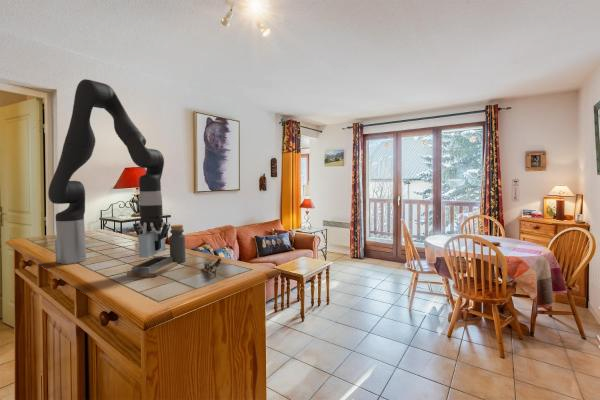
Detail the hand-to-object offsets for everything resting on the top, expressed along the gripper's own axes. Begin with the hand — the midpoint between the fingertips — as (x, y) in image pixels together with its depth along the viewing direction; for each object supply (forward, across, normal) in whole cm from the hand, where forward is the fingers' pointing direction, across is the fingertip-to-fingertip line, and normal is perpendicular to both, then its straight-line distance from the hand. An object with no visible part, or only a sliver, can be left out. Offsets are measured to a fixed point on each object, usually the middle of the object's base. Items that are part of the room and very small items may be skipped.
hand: (152, 250), depth 110 cm
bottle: (+8, +3, +12) cm, 15 cm away
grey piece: (+8, 0, 0) cm, 8 cm away
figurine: (+8, +23, 0) cm, 24 cm away
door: (+1, 0, 0) cm, 1 cm away
